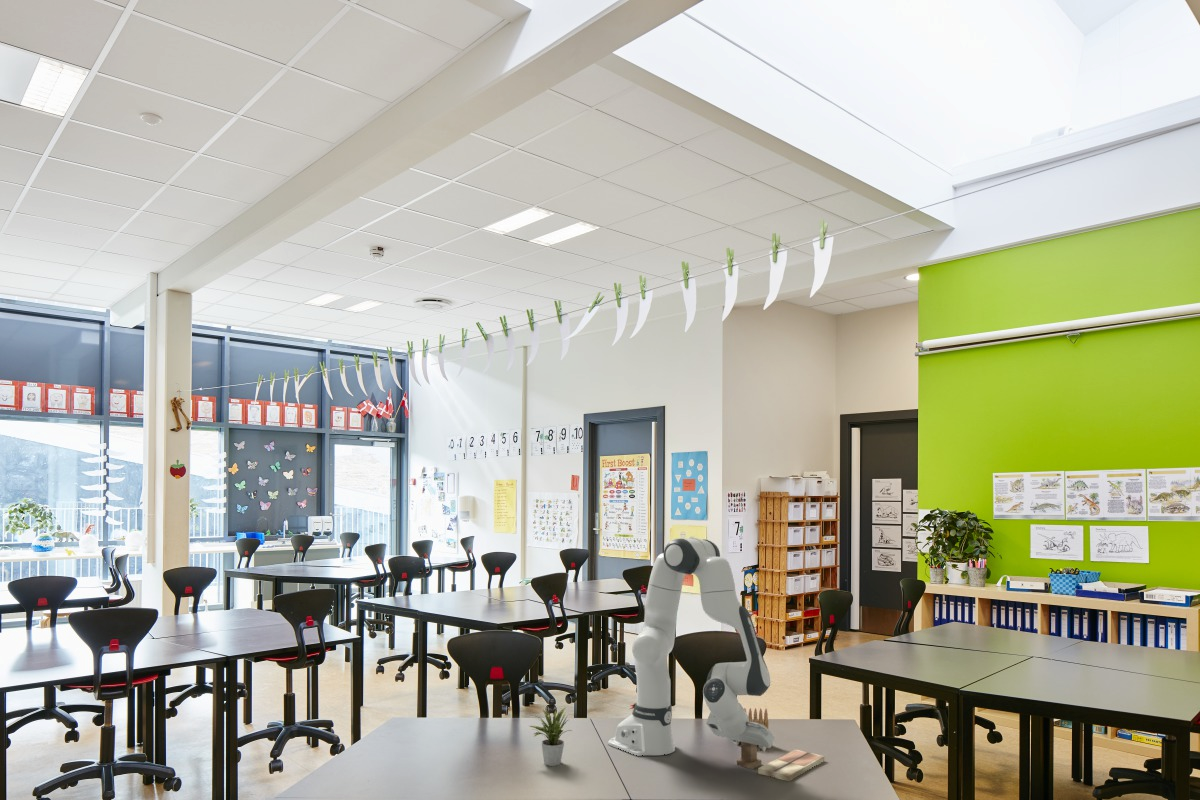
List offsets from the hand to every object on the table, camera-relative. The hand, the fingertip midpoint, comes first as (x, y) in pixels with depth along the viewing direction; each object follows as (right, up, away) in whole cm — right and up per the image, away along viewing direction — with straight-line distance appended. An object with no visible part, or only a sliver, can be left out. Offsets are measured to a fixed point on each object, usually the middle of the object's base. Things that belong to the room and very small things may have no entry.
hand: (750, 745), depth 262 cm
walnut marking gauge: (0, -6, -1) cm, 6 cm away
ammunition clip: (+4, -8, +19) cm, 21 cm away
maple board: (+12, -6, -3) cm, 14 cm away
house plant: (-62, -5, 0) cm, 62 cm away
